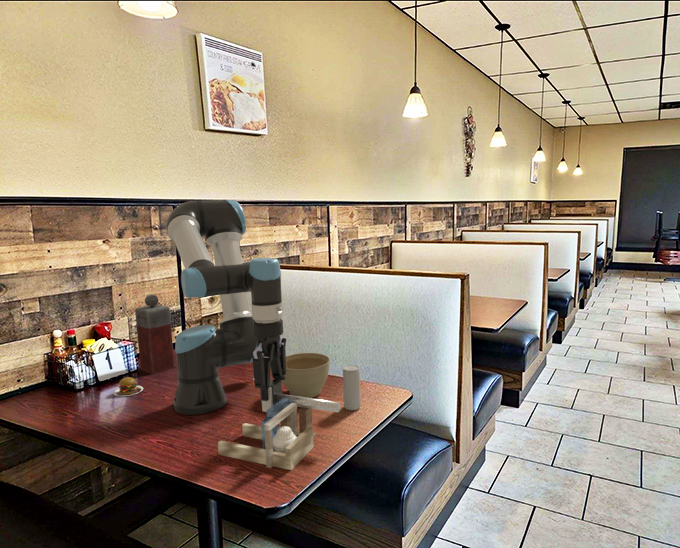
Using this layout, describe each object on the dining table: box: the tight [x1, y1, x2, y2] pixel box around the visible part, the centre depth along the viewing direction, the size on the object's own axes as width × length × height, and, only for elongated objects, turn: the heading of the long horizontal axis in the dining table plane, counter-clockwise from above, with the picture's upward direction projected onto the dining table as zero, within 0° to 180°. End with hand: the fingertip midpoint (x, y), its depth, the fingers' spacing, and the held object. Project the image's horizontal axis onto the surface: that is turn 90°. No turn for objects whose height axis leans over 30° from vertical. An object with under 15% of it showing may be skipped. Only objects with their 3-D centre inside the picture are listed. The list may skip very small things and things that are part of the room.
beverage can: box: [342, 364, 362, 412], centre depth 139 cm, size 5×5×12 cm
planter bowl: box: [281, 352, 331, 399], centre depth 151 cm, size 16×16×11 cm
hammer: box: [259, 378, 342, 451], centre depth 117 cm, size 21×14×13 cm, turn 66°
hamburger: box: [113, 376, 144, 398], centre depth 157 cm, size 12×12×6 cm
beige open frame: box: [217, 403, 315, 471], centre depth 116 cm, size 20×13×10 cm, turn 66°
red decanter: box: [134, 294, 175, 375], centre depth 179 cm, size 9×11×28 cm
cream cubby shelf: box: [280, 405, 317, 438], centre depth 123 cm, size 9×4×8 cm, turn 66°
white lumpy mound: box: [273, 426, 297, 453], centre depth 114 cm, size 6×6×7 cm
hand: (272, 407), depth 125 cm, fingers closed on hammer, 4 cm apart
